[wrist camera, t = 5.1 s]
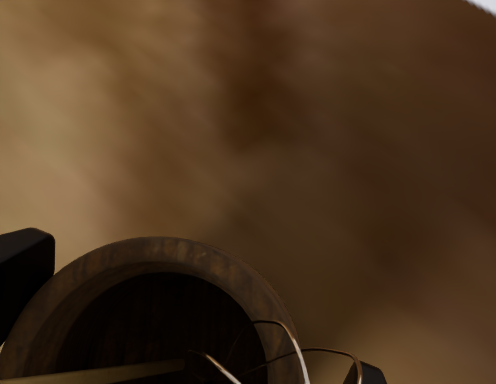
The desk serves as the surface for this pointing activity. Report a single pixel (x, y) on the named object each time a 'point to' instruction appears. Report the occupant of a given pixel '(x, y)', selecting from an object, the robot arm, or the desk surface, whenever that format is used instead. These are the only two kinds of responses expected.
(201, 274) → the utensil holder
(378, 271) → the desk surface
